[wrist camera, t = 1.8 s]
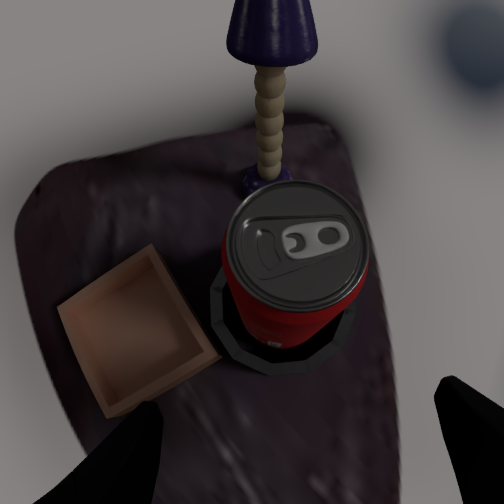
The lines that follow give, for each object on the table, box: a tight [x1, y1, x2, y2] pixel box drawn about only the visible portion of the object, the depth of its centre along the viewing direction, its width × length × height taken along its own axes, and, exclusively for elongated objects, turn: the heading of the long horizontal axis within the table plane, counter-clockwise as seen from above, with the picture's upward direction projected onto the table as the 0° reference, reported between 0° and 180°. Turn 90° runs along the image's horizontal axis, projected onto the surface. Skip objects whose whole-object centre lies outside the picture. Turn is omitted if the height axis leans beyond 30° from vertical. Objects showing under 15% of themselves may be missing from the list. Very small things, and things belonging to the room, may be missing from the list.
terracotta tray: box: [57, 243, 223, 419], centre depth 19 cm, size 9×9×2 cm
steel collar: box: [210, 265, 356, 376], centre depth 19 cm, size 8×8×4 cm
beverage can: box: [221, 180, 369, 350], centre depth 15 cm, size 5×5×12 cm
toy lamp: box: [226, 0, 318, 198], centre depth 17 cm, size 5×5×17 cm
